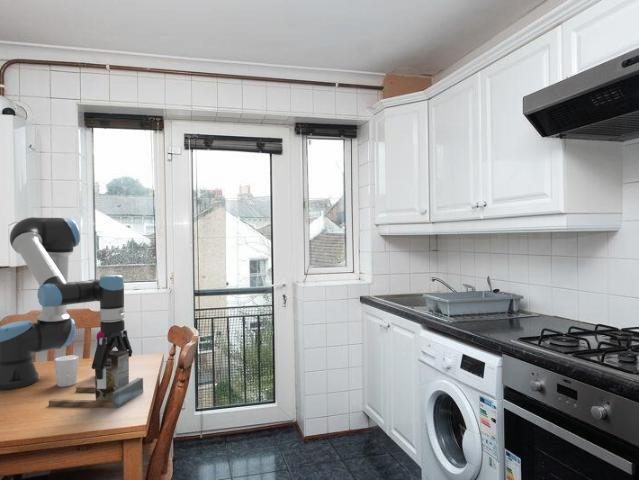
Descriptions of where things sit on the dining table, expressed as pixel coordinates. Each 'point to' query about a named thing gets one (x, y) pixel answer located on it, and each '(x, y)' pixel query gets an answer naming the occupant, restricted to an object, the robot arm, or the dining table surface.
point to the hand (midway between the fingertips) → (113, 381)
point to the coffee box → (114, 375)
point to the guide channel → (119, 400)
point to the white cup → (66, 370)
